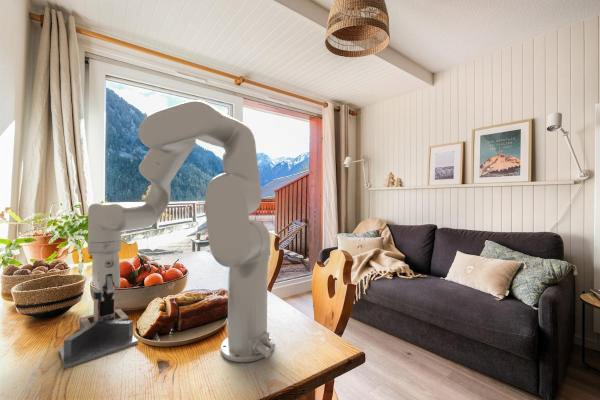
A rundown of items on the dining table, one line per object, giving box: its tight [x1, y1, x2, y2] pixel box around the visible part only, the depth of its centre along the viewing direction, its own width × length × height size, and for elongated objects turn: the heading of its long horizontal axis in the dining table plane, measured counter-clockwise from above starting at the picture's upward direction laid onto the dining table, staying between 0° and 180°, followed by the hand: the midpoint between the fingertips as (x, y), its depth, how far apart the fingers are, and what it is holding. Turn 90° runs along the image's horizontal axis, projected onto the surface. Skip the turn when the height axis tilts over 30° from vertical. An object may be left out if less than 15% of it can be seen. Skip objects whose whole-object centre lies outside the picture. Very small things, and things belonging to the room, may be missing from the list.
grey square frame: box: [78, 308, 130, 331], centre depth 75 cm, size 10×10×3 cm
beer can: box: [93, 285, 116, 322], centre depth 75 cm, size 5×5×12 cm
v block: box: [58, 320, 139, 370], centre depth 66 cm, size 10×14×5 cm
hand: (104, 311), depth 75 cm, fingers closed on beer can, 4 cm apart
